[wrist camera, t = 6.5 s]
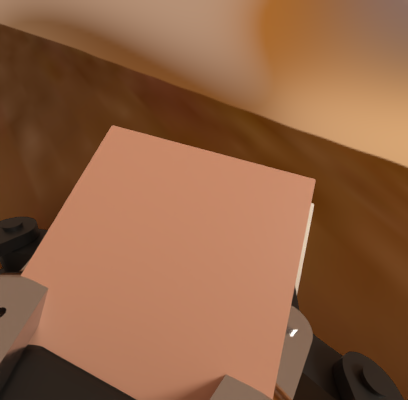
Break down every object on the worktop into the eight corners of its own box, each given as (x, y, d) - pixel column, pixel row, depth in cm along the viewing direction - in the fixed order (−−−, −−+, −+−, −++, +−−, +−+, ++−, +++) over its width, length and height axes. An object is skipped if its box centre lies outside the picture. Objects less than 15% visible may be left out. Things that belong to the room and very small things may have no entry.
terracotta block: (250, 235, 14) (315, 179, 5) (226, 320, 12) (252, 506, 3) (178, 211, 15) (112, 125, 6) (147, 286, 13) (-21, 342, 4)
